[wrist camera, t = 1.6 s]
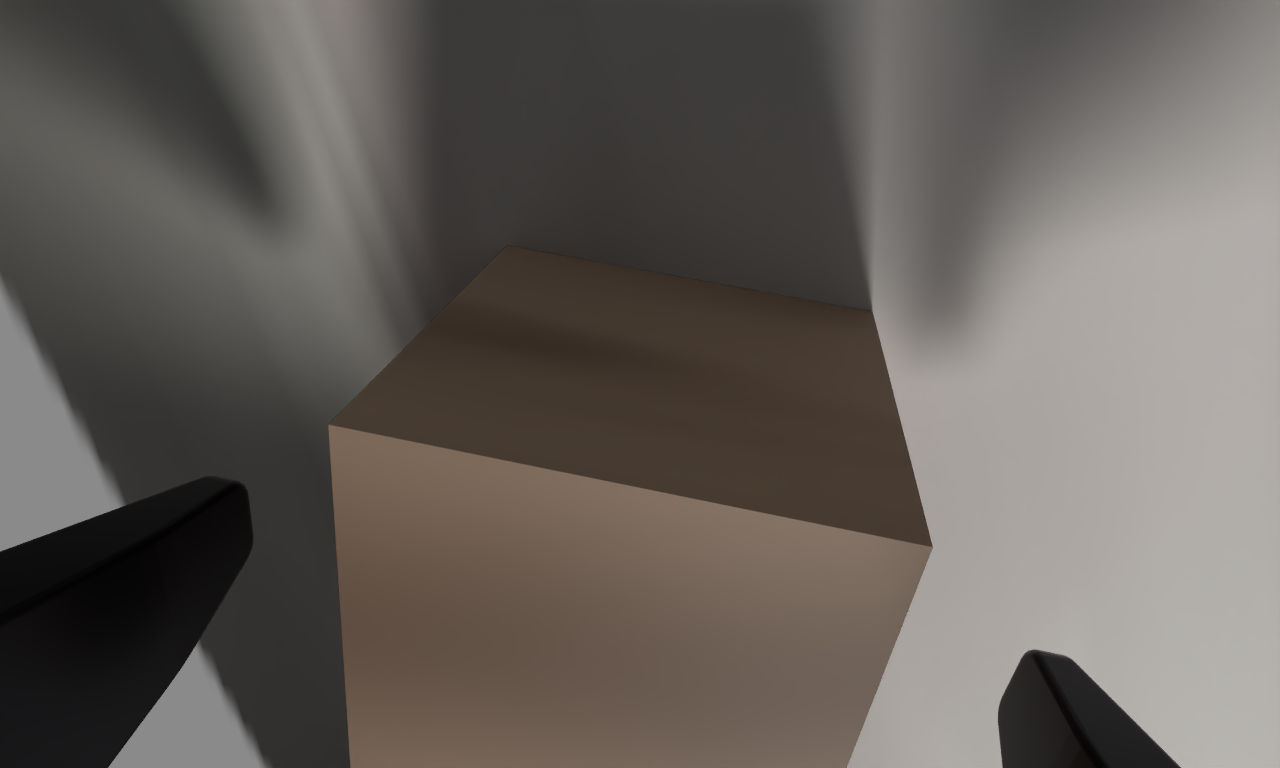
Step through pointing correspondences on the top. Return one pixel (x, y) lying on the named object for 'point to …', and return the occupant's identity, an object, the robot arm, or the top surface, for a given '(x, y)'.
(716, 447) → the walnut block
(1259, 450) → the top surface
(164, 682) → the robot arm
